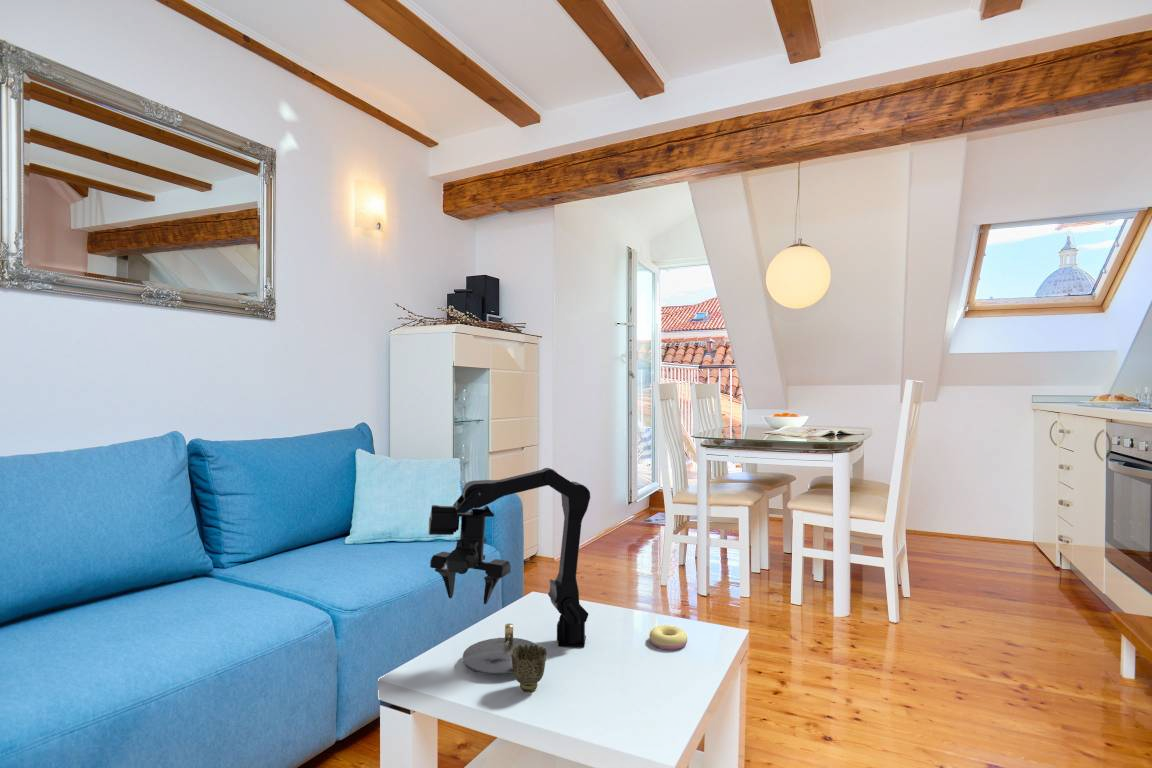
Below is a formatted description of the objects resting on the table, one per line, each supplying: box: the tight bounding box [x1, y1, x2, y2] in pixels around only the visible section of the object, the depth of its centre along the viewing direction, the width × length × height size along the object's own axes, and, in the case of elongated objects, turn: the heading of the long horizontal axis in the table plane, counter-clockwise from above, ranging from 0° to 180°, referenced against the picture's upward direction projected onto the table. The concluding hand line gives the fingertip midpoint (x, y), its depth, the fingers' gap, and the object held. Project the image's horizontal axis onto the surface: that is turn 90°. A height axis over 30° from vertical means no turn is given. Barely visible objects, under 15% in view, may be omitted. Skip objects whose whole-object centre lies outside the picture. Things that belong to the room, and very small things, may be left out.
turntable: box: [462, 623, 541, 676], centre depth 138 cm, size 18×18×4 cm
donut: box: [648, 624, 689, 650], centre depth 150 cm, size 10×5×9 cm
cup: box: [511, 644, 547, 693], centre depth 126 cm, size 8×7×8 cm
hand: (467, 600), depth 143 cm, fingers open, 9 cm apart
